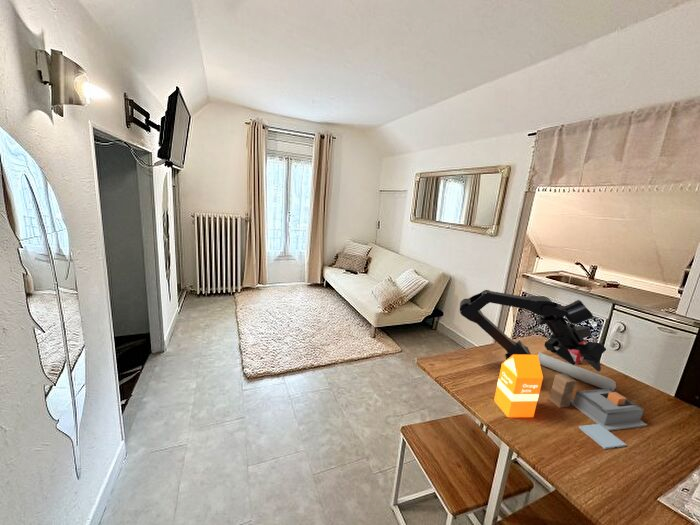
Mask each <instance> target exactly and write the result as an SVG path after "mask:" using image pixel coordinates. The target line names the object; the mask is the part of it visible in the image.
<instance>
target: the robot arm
mask: <svg viewBox="0 0 700 525" xmlns="http://www.w3.org/2000/svg"><path fill="white" fill-rule="evenodd" d="M490 303H491V304H496V305H502V306H506V307H507V306H508V307H513V308H518V309H522V310H526V311H529V312H531V313H533V314H535V315H538V319H537V323H538V324H539V326H542V325H546V326H547V328H548V329H549V330H550V332H551V335H550V336H551V337H550V338H548V339H547V340H546V341H545V342H544V348H545V349H546V350H547V351H550V353H552V354H554V355H556V356H557V357H559V358H561V359H562V360H564V361H565V362H567V363H569V364H572V365H575V366H576V364H575V361H574V359H573V358H572V356H571V354H570V352H569V351H568V350H572V349H575V350H580V354H581V356H583V357H584V358H583V360H584V361H585V362H586V363H587V364H589V365H590V366H591V367H592V368H593V369H594V370H596V371H597V372H600V371H601V370H602V366H601V361H600V356H601V355H602V354H603V353H605V352H606V351H607V348H606V347H605V345H604V344H603V343H602V342H601V343H600V342H595V341H587V343H586V344H585V345H584V344H580V342H583V341H584V339H583V338H591V337H593V335H592V334H593V333H592V332H591V328H590V326H583V325H578V324H581V323H583V322H586V321H587V320H591V319H593V318H594V315H593V314H592V312H591V311H590V310H589V309H588V308H587V307H586V305H585V303H583V302H582V301H581V300H580V299H577V300H575V301H574V302H572V303H569V304H567V305H562V304H560V303H558V302H554V301H553V300H551V299H550V298H549V297H548V296H544V295H531V296H530V295H529V296H523V295H522V296H521V295H517V294H516V295H515V294H512V293H504V292H499V291H493V290H490V289H485V290H482V291H481V292H480V293H477V294H474V295H472V296H470V297H469V298H463V299H462V300H461V301H460V303H459V313H460V315H461V316H462V317H464V318H465V319H467V320H468V321H470V322H472V323H474V324H477V325H478V326H479V327H480V328H481V329H482V330H483V331H484V332H486V334H487V335H488V336H490V337H491V338H492V339H493V340H494V341H495V342H496V343H497V344H498V345H500V346H501V347H502V348H503V349H504V350H505V351H506V353H505V354H504V357H505V361H506V360H507V359H508V358H510V357H511V356H512V355H532V354H531V351H530V349H529V347H528V346H526V345H525V344H524V343H523V342H522V341H521V340H518V341H517V342H516V341H514V340H513V339H511V338H510V337H509V336H508V335H506V333H504V332H503V331H502V330H501V329H500V328H499V327H498V326H497V325H496V324H494V323H493V321H491V320H490V319H488V317H487V316H486V315H485V314H484V313H483V312H482V311H481V310H482V308H484V307H486V306H487V305H488V304H490ZM564 317H565V318H564ZM566 320H567V321H568V322H567V321H566ZM571 323H572V324H571ZM498 377H499V374H498Z"/></svg>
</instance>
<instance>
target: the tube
mask: <svg viewBox="0 0 700 525" xmlns="http://www.w3.org/2000/svg"><path fill="white" fill-rule="evenodd" d="M537 355H538V358H539V362H540V366H543V367H545V368H548V369H550V370H553V371H555V372H558V373H559V374H566V375H568V376H569V377H571V378H572V379H574V380H575V379H576V380H579V381H580V382H583V383H586V384H588V385H591V386H594V387H596V388H598V389H612V390H613V391H615V390H616V388H617V386H616V384H617V382H616V381H614V380H613V379H612V378H610V377H607V376H604V375H602V374H600V373H596V372H594V371H591V370H588V369H586V368H583V367H580V366H577V365H576V364H575V365H572V364H570V363H569V362H567V361H565V360H564V361H563V360H561V359H558V358H556V357H552V356H549V355H548V354H545V353H542V352H540V351H539V352H538V354H537Z"/></svg>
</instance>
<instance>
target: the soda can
mask: <svg viewBox="0 0 700 525" xmlns="http://www.w3.org/2000/svg"><path fill="white" fill-rule="evenodd" d="M587 338H588V337H586V338H583V339H584V341H583V342H580V344H584V345H585V344H586V343H588V341H587ZM568 351H569V352H570V354H571V356H572V358H573V359H574V361H575V365H578V364H581V363H582V362H583V360H584V359H583V358H584V357H583V356H581V354H580V350H575V349H572V350H568Z"/></svg>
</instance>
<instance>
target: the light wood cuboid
mask: <svg viewBox="0 0 700 525" xmlns="http://www.w3.org/2000/svg"><path fill="white" fill-rule="evenodd" d="M576 382H577V380H575V378H573V377H570V376H568V375H566V374H563V373H557V374H555V375H554V379H553V382H552V386H551V390H550V393H549V397H548V400H549V401H550V402H551V403H552V404H554V405H555V406H557V407H558V408H560V409H561V408H569V407H570V405H571V403H570V401H571V399H573V398H572V397H573V394H574V389H575V386H576Z"/></svg>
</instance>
